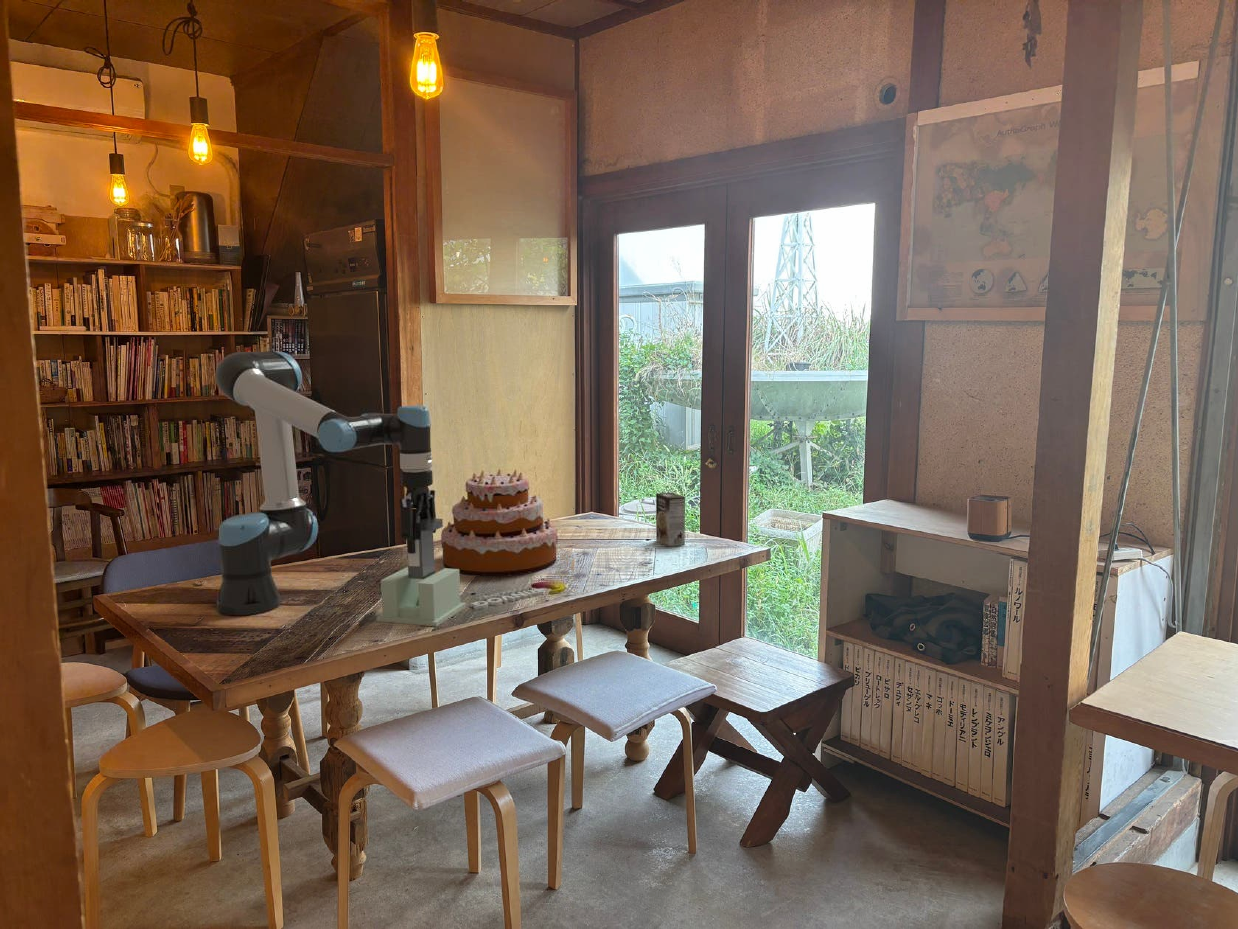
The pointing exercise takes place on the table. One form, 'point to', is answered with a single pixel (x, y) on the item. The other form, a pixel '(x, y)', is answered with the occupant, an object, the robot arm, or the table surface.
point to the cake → (498, 529)
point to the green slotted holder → (420, 598)
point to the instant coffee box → (670, 519)
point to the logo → (517, 594)
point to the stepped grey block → (425, 548)
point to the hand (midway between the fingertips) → (421, 562)
